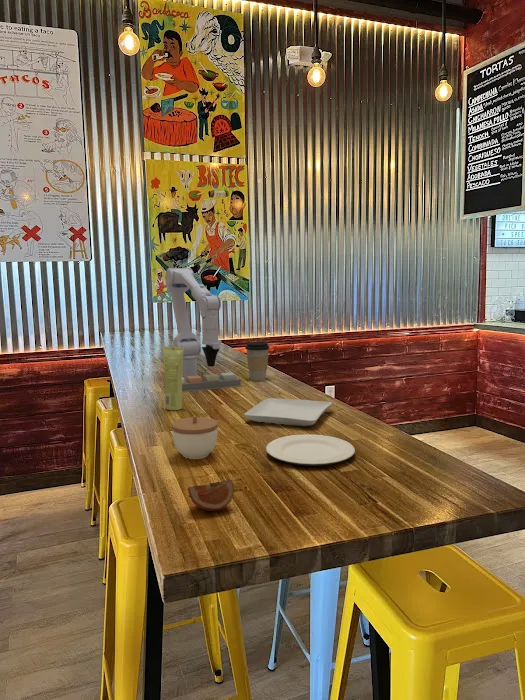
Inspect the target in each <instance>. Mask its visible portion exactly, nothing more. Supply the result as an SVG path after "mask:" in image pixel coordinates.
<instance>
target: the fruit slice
mask: <svg viewBox="0 0 525 700" xmlns="http://www.w3.org/2000/svg"><path fill="white" fill-rule="evenodd" d="M234 488H235V487H234V482H233V480H232V479H227V480H226V479H225V480H223V481H216V482H210V483H209V484H202V485H201V484H200V485H194V486H188V487H187V491H188V498H190V500H191V502H192V503H193V504H194V505H195V506H196V507H198V508H200V509H202V510H204V511H208V512H209V511H210V512H216V511H219V510H223V509H224V508H226V507H227V506H228V505H229V504H230V502H231V501H232V500H233V499H232V498H233V496H234V493H235V491H234Z"/></svg>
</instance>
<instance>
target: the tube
mask: <svg viewBox="0 0 525 700" xmlns="http://www.w3.org/2000/svg"><path fill="white" fill-rule="evenodd" d="M183 352H184V348H173V346H172V347H171V346H162V358H163V371H164V373H163V374H164V382H165V388H164V390H165V393H164V394H165V409H166V410H169V411H179V410H181V409H182V408H183V392H182V367H183Z"/></svg>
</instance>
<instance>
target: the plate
mask: <svg viewBox="0 0 525 700" xmlns="http://www.w3.org/2000/svg"><path fill="white" fill-rule="evenodd" d="M265 451H266V453H267V454H268V455H269V456H270V457H272V458H273V459H275V460H278V461H280V462H285V463H286V464H287V463H288V464H291V465H297V466H303V467H305V466H306V467H320V466H321V467H322V466H327V465H329V466H330V465H333V464H339V463H342V462H345V461H347V460H348V459H351V458H352V457H353V456H354V454H355V453H356V450H355V447H354V445H352V443H350V442H348V441H346V440H344V439H341V438H338V437H335V436H330V435H323V434H322V435H321V434H311V433H310V434H309V433H308V434H292V435H286V436H281V437H277V438H276V439H273V440H272V441H270V442H269V443H268V444H267V445H266V447H265Z"/></svg>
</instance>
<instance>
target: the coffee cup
mask: <svg viewBox="0 0 525 700" xmlns="http://www.w3.org/2000/svg"><path fill="white" fill-rule="evenodd" d="M270 349H271V348H270V346H269V343H268V342H263V341H252V342H247V343H246V346H245V347H244V350H246V360H247V368H248V375H249V380H250V381H255V382H262V381H265V380H267V379H266V378H267V370H268V363H269V362H268V361H269V350H270Z"/></svg>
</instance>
